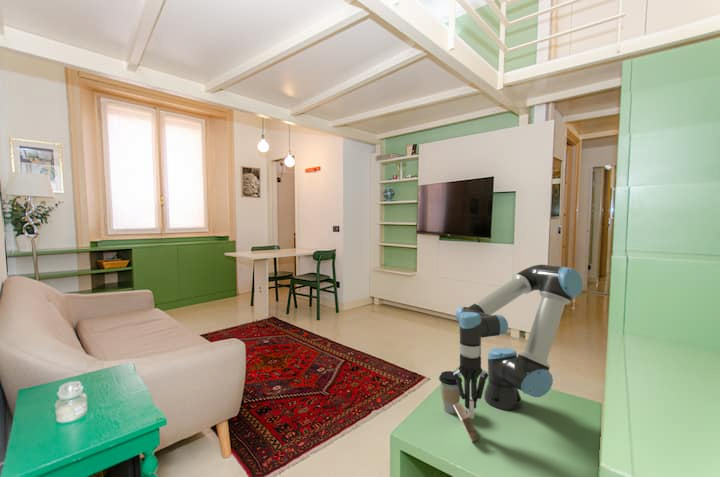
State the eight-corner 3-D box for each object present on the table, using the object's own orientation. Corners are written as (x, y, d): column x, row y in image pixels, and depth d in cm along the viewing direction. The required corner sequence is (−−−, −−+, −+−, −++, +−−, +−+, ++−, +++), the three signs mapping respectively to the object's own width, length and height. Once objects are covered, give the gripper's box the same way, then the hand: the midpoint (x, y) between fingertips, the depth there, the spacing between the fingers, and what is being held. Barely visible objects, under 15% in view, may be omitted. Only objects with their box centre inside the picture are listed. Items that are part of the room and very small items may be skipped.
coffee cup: (459, 418, 130) (459, 382, 130) (436, 412, 135) (436, 377, 134) (464, 407, 138) (464, 373, 138) (442, 401, 143) (442, 368, 142)
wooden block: (469, 422, 125) (459, 401, 125) (479, 438, 115) (468, 416, 115) (462, 425, 125) (453, 405, 125) (471, 442, 115) (461, 420, 115)
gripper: (483, 350, 124) (483, 410, 124) (450, 351, 123) (450, 411, 124) (491, 358, 116) (492, 422, 117) (456, 358, 116) (456, 422, 116)
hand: (470, 416), depth 120 cm, fingers closed
